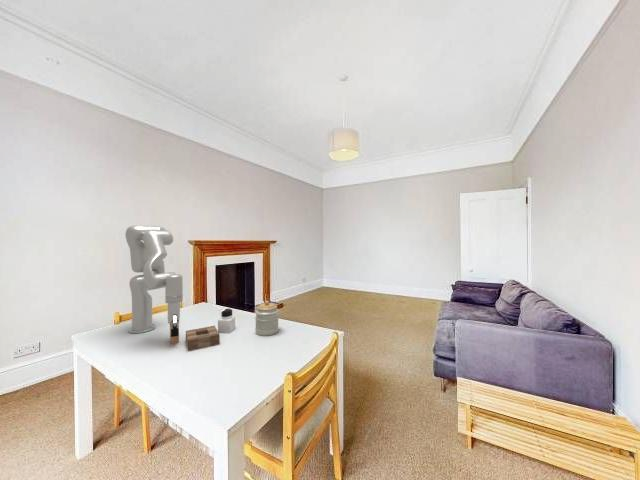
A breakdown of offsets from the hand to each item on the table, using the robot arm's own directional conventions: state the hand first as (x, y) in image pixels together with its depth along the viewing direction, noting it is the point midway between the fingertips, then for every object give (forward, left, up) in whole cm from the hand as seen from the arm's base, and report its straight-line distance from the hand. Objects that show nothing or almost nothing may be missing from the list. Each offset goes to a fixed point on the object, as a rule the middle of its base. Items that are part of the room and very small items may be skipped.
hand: (174, 333), depth 125 cm
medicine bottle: (-3, +26, -5) cm, 27 cm away
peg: (0, 0, -5) cm, 5 cm away
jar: (+11, +45, -5) cm, 47 cm away
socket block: (+7, +12, -5) cm, 15 cm away
